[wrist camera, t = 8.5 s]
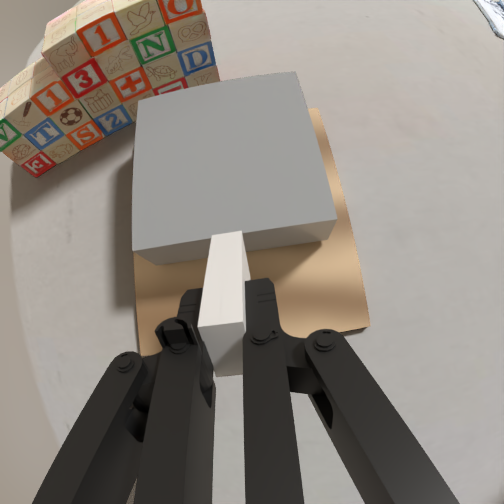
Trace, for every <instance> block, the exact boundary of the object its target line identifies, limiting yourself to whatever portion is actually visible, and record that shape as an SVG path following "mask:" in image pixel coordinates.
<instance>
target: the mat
mask: <svg viewBox="0 0 504 504" xmlns="http://www.w3.org/2000/svg"><path fill="white" fill-rule="evenodd" d="M308 111H309V114H310V118H311V121H312V124H313V128H314V131H315V134H316V138H317V141H318V145H319V148H320V152H321V155H322V159H323V163H324V166H325V170H326V174H327V178H328V182H329V186H330V190H331V194H332V198H333V202H334V206H335V210H336V214H337V221H336V224H335V226H334V228H333V230H332V232H331V234H330V236H329V238H328V240H323V241H316V242H310V243H303V244H296V245H290V246H283V247H277V248H270V249H263V250H257V251H250V252H246V256H247V262H248V267H249V272H250V280H255V279H262V278H269V279H270V280H271V281H272V282H273V283H274V287H275V294H276V300H277V307H278V313H279V320H280V325H281V328H282V329H283V331H284V332H286V333H287V334H288V335H291V336H293V337H299V338H307V337H308V336H309V334H311V333H312V332H314V331H316V330H320V329H332V330H335V331H337V332H344V331H349V330H354V329H359V328H364V327H368V326H370V319H369V313H368V307H367V301H366V296H365V290H364V285H363V279H362V274H361V269H360V264H359V259H358V254H357V250H356V245H355V241H354V236H353V232H352V227H351V223H350V219H349V215H348V211H347V207H346V203H345V199H344V195H343V191H342V187H341V183H340V180H339V176H338V172H337V169H336V165H335V162H334V158H333V155H332V152H331V148H330V145H329V142H328V138H327V135H326V132H325V129H324V126H323V122H322V119H321V116H320V113H319V110H318V108H311V109H308ZM133 254H134V279H135V297H136V311H137V323H138V334H139V343H140V352H141V356H148V355H154V354H156V353H159V352H160V351H162V346H161V344H160V342H159V340H158V338H157V336H156V334H155V332H154V331H155V329H156V327H157V326H158V325H159V324H160V323H161V322H162V321H164V320H166V319H168V318H172V317H177V314H178V308H179V304H180V300H181V297H182V296H183V294H184V293H185V292H186V291H187V290H189V289H196V288H203V287H204V280H205V274H206V268H207V262H208V258H204V259H197V260H190V261H184V262H177V263H170V264H164V265H157V266H156V265H154V264H153V263H151V262H149V261H148V260H146V259H144V258H143V257H141V256H139V255H138V254H136V253H134V252H133Z"/></svg>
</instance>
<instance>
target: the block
mask: <svg viewBox="0 0 504 504" xmlns="http://www.w3.org/2000/svg"><path fill="white" fill-rule="evenodd" d="M336 221H337V214H336V210H335V206H334V202H333V198H332V194H331V190H330V186H329V182H328V178H327V174H326V170H325V166H324V163H323V159H322V155H321V152H320V148H319V145H318V141H317V138H316V134H315V131H314V128H313V124H312V121H311V118H310V114H309V111H308V108H307V105H306V102H305V98H304V95H303V92H302V89H301V86H300V83H299V80H298V77H297V74H296V71H295V72H284V73H275V74H266V75H258V76H251V77H244V78H238V79H232V80H226V81H220V82H215V83H210V84H205V85H200V86H195V87H190V88H186V89H182V90H177V91H173V92H169V93H165V94H161V95H157V96H154V97H150V98H146V99H143V100H139V101H138V110H137V120H136V132H135V145H134V162H133V185H132V251H133V252H134V253H136V254H138V255H139V256H141V257H143V258H144V259H146V260H148V261H149V262H151V263H153V264H154V265H156V266H157V265H164V264H170V263H177V262H184V261H190V260H197V259H204V258H208V256H209V250H210V244H211V238H212V235H217V234H223V233H230V232H236V231H242V235H243V241H244V246H245V251H246V252H250V251H257V250H263V249H270V248H277V247H283V246H290V245H296V244H303V243H310V242H316V241H323V240H328V238H329V236H330V234H331V232H332V230H333V228H334V226H335V224H336Z"/></svg>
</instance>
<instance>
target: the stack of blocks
mask: <svg viewBox="0 0 504 504" xmlns="http://www.w3.org/2000/svg"><path fill="white" fill-rule="evenodd" d="M41 53H42V55H43V57H42V58H40V59H39V60H37V61H36V62H34V63H32V64H31V65H30V66H28V67H27V68H25V69H24V70H23V71H21V72H20V73H19V74H17V75H16V76H15V77H13V78H12V80H10V81H9V82H7V83H6V84H5V85H4V86H2V87H1V88H0V152H3V153H4V154H5V155H6V156H7V157H9V158H10V159H11V160H13V161H14V162H15V163H16V164H18V165H20V166H21V167H22V168H24V169H25V170H26V171H27V172H29V173H30V174H31V175H33V176H34V177H36V178H37V177H38V176H40V175H41V174H43V173H44V172H46V171H47V170H49V169H50V168H52V167H53V166H55V165H56V164H59V163H61V162H63V161H64V160H66V159H68V158H69V157H71V156H73V155H74V154H76V153H78V152H79V151H80V150H83V149H85V148H87V147H88V146H90V145H92V144H94V143H96V142H98V141H99V140H101V139H103V138H105V136H108V135H110V134H112V133H114V132H115V131H117V130H119V129H121V128H123V127H125V126H127V125H129V124H131V123H133V122H135V121H136V120H137V110H138V101H139V100H143V99H146V98H150V97H154V96H157V95H161V94H165V93H169V92H173V91H177V90H182V89H186V88H190V87H195V86H200V85H205V84H210V83H215V82H220V78H219V73H218V69H217V66H216V62H215V57H214V52H213V47H212V42H211V35H210V30H209V26H208V22H207V17H206V13H205V11H204V10H203V9H202V4H201V0H86V1H84V2H82V3H80V4H79V5H78V6H76V7H73V8H72V9H70V10H68V11H66V12H65V13H63V14H61V15H60V16H58V17H56V18H55V19H53V20H52V21H50V22H48V23H47V26H46V31H45V35H44V44H43V48H42V52H41Z"/></svg>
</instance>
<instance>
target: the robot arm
mask: <svg viewBox="0 0 504 504" xmlns="http://www.w3.org/2000/svg"><path fill="white" fill-rule="evenodd" d="M154 332H155V334H156V336H157V338H158V340H159V342H160V344H161V346H162V351H160V352H159V353H156V354H154V355H151V356H148V357H145V358H142V357H141V356H140V355H139V354H138V353H136V352H124V353H121V354H120V355H118V356H117V357H115V358H114V360H113V361H112V362H111V363H110V365H109V367H108V368H107V370H106V372H105V373H104V375H103V376H102V378H101V380H100V381H99V383H98V385H97V386H96V388H95V390H94V391H93V393H92V395H91V396H90V398H89V400H88V401H87V403H86V405H85V406H84V408H83V410H82V412H81V413H80V415H79V417H78V419H77V420H76V422H75V424H74V425H73V427H72V429H71V431H70V433H69V434H68V436H67V438H66V440H65V441H64V443H63V445H62V447H61V449H60V451H59V453H58V454H57V456H56V458H55V460H54V462H53V464H52V465H51V467H50V469H49V471H48V473H47V475H46V477H45V479H44V481H43V483H42V485H41V487H40V489H39V490H38V492H37V495H36V497H35V498H34V501H33V503H32V504H126V502H127V500H128V497H129V495H130V492H131V490H132V488H133V485H134V483H135V481H136V478H137V484H136V491H135V498H134V504H212V481H213V447H214V421H215V398H216V387H215V383H214V380H213V369H214V372H215V375H216V377H222V376H232V375H242V374H243V408H244V458H245V498H246V504H304V497H303V488H302V480H301V472H300V464H299V456H298V448H297V441H296V433H295V425H294V418H293V410H292V403H291V396H290V392H296V393H304V394H308V396H309V398H310V400H311V402H312V404H313V406H314V408H315V410H316V412H317V414H318V415H319V417H320V419H321V421H322V423H323V425H324V427H325V429H326V431H327V433H328V435H329V437H330V438H331V440H332V442H333V444H334V446H335V448H336V450H337V452H338V454H339V456H340V458H341V459H342V461H343V463H344V465H345V467H346V469H347V471H348V473H349V475H350V476H351V478H352V480H353V482H354V484H355V486H356V488H357V490H358V491H359V493H360V495H361V497H362V499H363V501H364V503H365V504H460V503H459V502H458V500H457V499H456V497H455V496H454V494H453V493H452V491H451V490H450V488H449V487H448V485H447V484H446V482H445V481H444V479H443V478H442V476H441V475H440V473H439V472H438V470H437V469H436V467H435V466H434V464H433V463H432V461H431V460H430V458H429V457H428V456H427V454H426V453H425V451H424V450H423V448H422V447H421V445H420V444H419V442H418V441H417V439H416V438H415V437H414V435H413V434H412V432H411V431H410V429H409V428H408V426H407V425H406V424H405V422H404V421H403V419H402V418H401V416H400V415H399V414H398V412H397V411H396V409H395V408H394V406H393V405H392V404H391V402H390V401H389V399H388V398H387V396H386V395H385V394H384V392H383V391H382V389H381V388H380V387H379V385H378V384H377V382H376V381H375V380H374V378H373V377H372V375H371V374H370V373H369V371H368V370H367V368H366V367H365V366H364V364H363V363H362V361H361V360H360V359H359V357H358V356H357V354H356V353H355V352H354V350H353V349H352V348H351V346H350V345H349V343H348V342H347V341H346V339H345V338H344V336H342V335H341V334H340V333H339V332H337V331H335V330H332V329H320V330H316V331H314V332H312V333H311V334H309V336H308V337H307V338H299V337H293V336H291V335H288V334H287V333H286V332H284V331H283V329H282V328H281V325H280V320H279V313H278V307H277V300H276V294H275V287H274V283H273V282H272V281H271V280H270V279H269V278H262V279H255V280H250V272H249V267H248V262H247V256H246V251H245V246H244V241H243V235H242V231H236V232H230V233H223V234H217V235H212V238H211V244H210V250H209V256H208V262H207V268H206V274H205V280H204V287H203V288H196V289H189V290H187V291H186V292H185V293H184V294H183V296H182V297H181V300H180V304H179V308H178V314H177V317H172V318H168V319H166V320H164V321H162V322H161V323H160V324H159V325H158V326H157V327H156V329H155V331H154ZM137 476H138V477H137Z"/></svg>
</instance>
